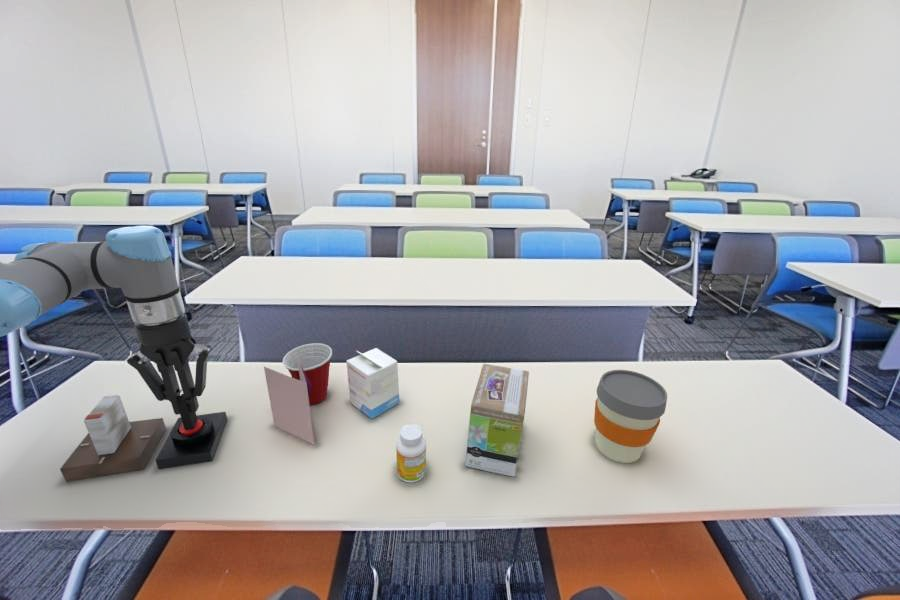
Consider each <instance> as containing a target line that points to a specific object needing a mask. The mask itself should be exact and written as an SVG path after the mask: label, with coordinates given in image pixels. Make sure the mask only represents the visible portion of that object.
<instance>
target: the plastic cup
mask: <svg viewBox="0 0 900 600" xmlns="http://www.w3.org/2000/svg"><path fill="white" fill-rule="evenodd" d="M297 356H298V359H299V362H300V364H301V366H302V368H303V370H304V372H305V374H306V376H307V378H308V380H309V382H310V384H311V387H310V391H309V405H310V406H313V405H318V404H320V403H322V402H324V401H325V400H326V398H327V395H328V386H329V380H330V379H329V377H330V366H331V359H332V356H333V349H332V348H331V347H330V346H329V344H325V343H322V342H321V343H320V342H319V343H318V342H316V343H315V342H311V343H307V344H302V345H299V346H296V347H294V348H293V349H291V350H289V351H288V352H287V353H286V354H285V355H284V356H283V357H282V365H283V366H284V367H285V369H286V370H288V373H289V375H290V377H292V378H294V379H297V380H300V375H299V368H298V360H297Z"/></svg>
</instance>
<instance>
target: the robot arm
mask: <svg viewBox="0 0 900 600" xmlns="http://www.w3.org/2000/svg"><path fill="white" fill-rule="evenodd" d="M116 288H120V289H121V291H122V294H123V295H124V298H125V301H126V304H127V307H128V311H129V314H130V317H131V320H132V321H133V322H134V324H133V326H134V330H135V333H136V336H137V339H138V342H139V344H140V346H139V350H138V351H134V352H133V353H132V354H131V355H130V357H129V358H128V359H127V360H126V363H127V364H128V365H129V366H130V367H132V368H134V369H135V370H136V371H137V372H138V374H139V376H140V377H141V378H142V380H143V381H144V382H145V384H146V385H147V387H148V388H149V390H150V391H151V392H152V394H153V396H154V397H155V398H156V400H157V401H159V402H163V401H169V402H170V405H171V407H172V410H173V413H174V415H178V416H179V415H180V417H181V419H182V423H183V426H184V429H185V430H189V429H194V427H195V424H196V422H197V420H198V419H197V416H196V415H197V411H198V410H199V407H200V404H199V400H198V397H201V396H203V393H204V391H205V389H206V387H207V373H208V358H209V357H208V356H209V354H210V353H211V351H212V346H211V345H209V344H207V345H205V346H204V345H201V344H198V343H197V341H196V339H195V338H194V337H193V336H192V334H191V333H192V332H191V328H190V325H189V320H188V316H187V314H186V313H185V311H186V308H185V304H184V301H183V298H182V294H181V291H180V286H179V284H178V280H177V275H176V271H175V266H174V263H173V259H172V251H171V250H170V248H169V245H168V242H167V239H166V236H165V233H164V232H163V230H161V229H160V228H158V227H155V226H152V225H135V226H124V227H123V226H122V227H119V228H114V229H112V230H110V231H107V233H106V235H105V241H71V242H70V241H64V242H63V241H47V242H42V243H41V242H39V243H30V244H27V245H24V246H22V248H20V249H19V253H17V254H16V255H15V257H14V260H13V261H10V262H4V261H1V260H0V338H1V337H4V336H7V335H8V334H11V333H13V332H16V331H17V330H20V329H21V328H25V327H27V326H29V325H31V324H33V323H34V322H35V321H36V320H37V319H39V318H40V317H42V316H43V315H45V314H46V313H48V312H49V311H51V310H52V309H55V308H56V307H58V306H60V305H62V304H63V303H65V302H67V301H69V300H71V299H72V298H74V297H75V296H77V295H79V294H81V293H82V292H84V291H88V290H105V289H116ZM192 352H194V357H195V359H197V360H196V362H195V363H196V364H195V376H194V377H195V379H194V377H193V374H192V371H191V367H190V363H189V361H190V359H189V357H190V355H192ZM152 362H153V363H154V364H155V365H156V368H157V369H156V368H155V366H154V365H153V363H152ZM159 373H160V374H159ZM160 375H161V376H160ZM177 377H178V378H177ZM179 382H180V384H179ZM180 387H181V388H180Z"/></svg>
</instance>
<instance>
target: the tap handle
mask: <svg viewBox="0 0 900 600" xmlns="http://www.w3.org/2000/svg"><path fill="white" fill-rule="evenodd" d="M129 421H130V420H129V418H128V415H127V412H126V410H125V406H124V404H123V402H122V398H121V396H120V394H114V395H105V396H103V397H102V398H101V400H99V401H98V403H97V404H96V405H95V406H94V408H93V409H92V410H91V411H90V412H89V414H87V415H86V416H85V418H84V420H83V423H84V425H85V427H86V430H87V432H88V433H89V435H90V437H91V440H92V442H93V444H94V447H95V449H96V451H97V454H98V455H105V454H112V453H114V452H115V451H116V449H117V448H118V446H119V445H120V443H121V442H122V440H123V439H124V438H125V436H126V435H127V433H128V432H129V430H130V429H131V426H130V423H129Z"/></svg>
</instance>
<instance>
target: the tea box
mask: <svg viewBox="0 0 900 600" xmlns="http://www.w3.org/2000/svg"><path fill="white" fill-rule="evenodd" d="M529 374H530V371H529V370H524V369H518V368H511V367H507V366H506V367H505V366H501V365H500V366H499V365H494V364H488V363H483V364H482V367H481V370H480V374H479V377H478V381H477V383H476V387H475V390H474V394H473V396H472V401H471V405H470V413H469V423H468V431H467V433H468V434H467V443H466V454H465V463H464V465H465V467H468V468H472V469H476V470H480V471H486V472H490V473H493V474H499V475H504V476H508V477H513V478H514V477H515V476H516V472H517V466H518V460H519V454H520V449H521V441H522V435H523V430H524V429H523V428H524V421H525V414H526V405H527V396H528V385H529V376H530V375H529Z"/></svg>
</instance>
